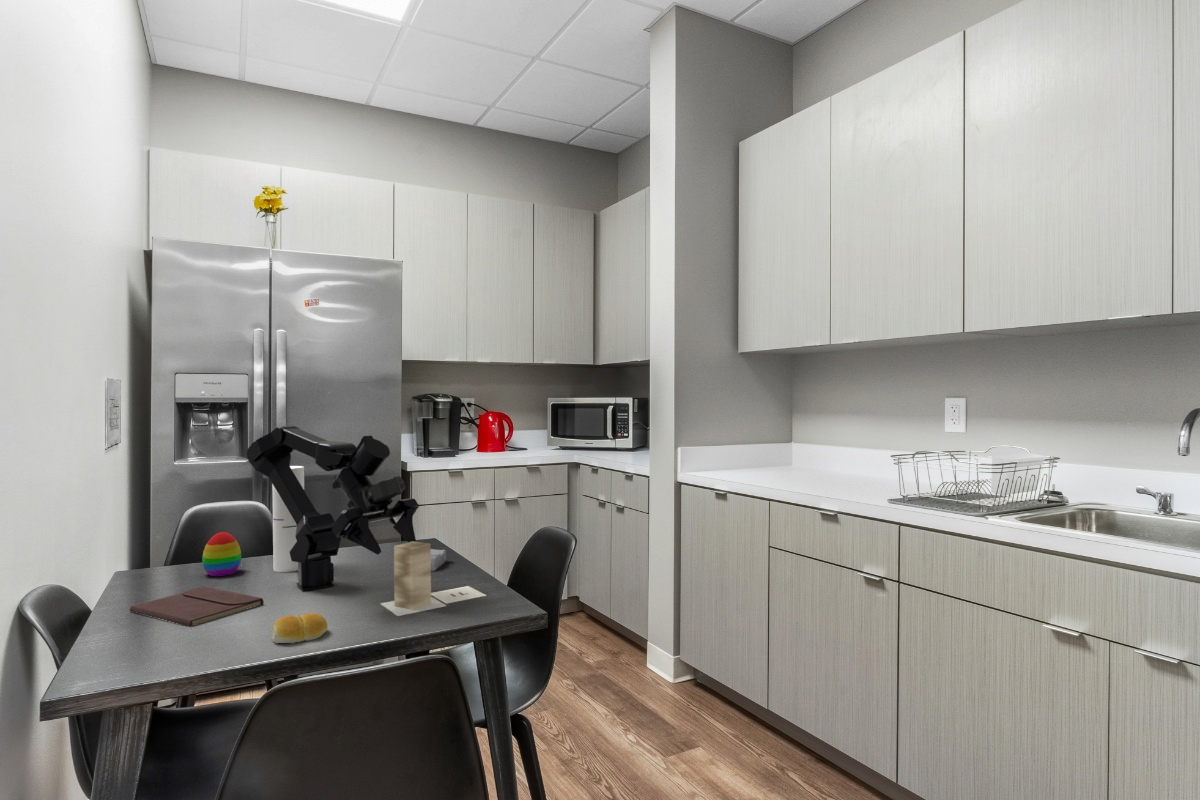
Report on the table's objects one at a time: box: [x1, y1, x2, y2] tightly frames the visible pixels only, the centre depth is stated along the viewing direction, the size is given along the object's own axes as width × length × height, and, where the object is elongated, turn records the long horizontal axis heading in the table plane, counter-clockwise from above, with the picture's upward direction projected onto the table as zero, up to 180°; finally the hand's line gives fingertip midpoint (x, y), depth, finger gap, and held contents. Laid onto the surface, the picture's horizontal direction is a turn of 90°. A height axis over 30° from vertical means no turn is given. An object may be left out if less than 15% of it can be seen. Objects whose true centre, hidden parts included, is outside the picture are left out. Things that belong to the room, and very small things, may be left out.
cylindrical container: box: [271, 465, 305, 573], centre depth 166 cm, size 7×7×25 cm
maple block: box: [393, 541, 432, 610], centre depth 134 cm, size 5×5×12 cm
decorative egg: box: [202, 531, 242, 577], centre depth 161 cm, size 8×8×10 cm
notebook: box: [129, 586, 264, 628], centre depth 134 cm, size 15×20×2 cm
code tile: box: [431, 585, 487, 605], centre depth 141 cm, size 9×9×1 cm
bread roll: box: [270, 612, 329, 644], centre depth 118 cm, size 8×9×4 cm
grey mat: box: [379, 596, 447, 617], centre depth 134 cm, size 10×10×1 cm
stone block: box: [431, 548, 447, 572], centre depth 166 cm, size 12×5×10 cm
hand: (397, 548), depth 136 cm, fingers open, 9 cm apart
